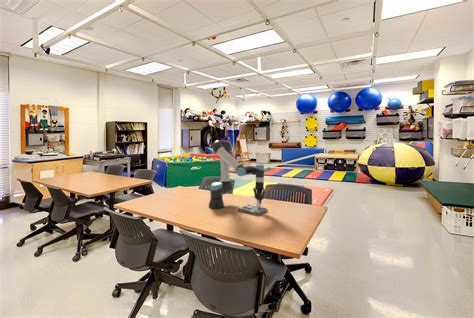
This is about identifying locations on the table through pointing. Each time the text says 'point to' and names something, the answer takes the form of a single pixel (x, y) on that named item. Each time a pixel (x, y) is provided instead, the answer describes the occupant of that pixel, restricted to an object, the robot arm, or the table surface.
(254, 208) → the tab
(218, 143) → the robot arm
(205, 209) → the table surface
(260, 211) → the switch board
